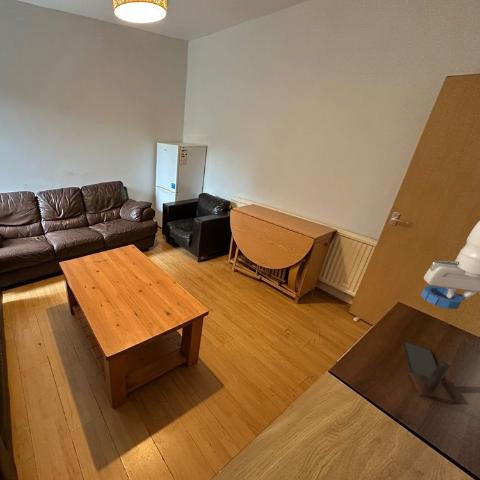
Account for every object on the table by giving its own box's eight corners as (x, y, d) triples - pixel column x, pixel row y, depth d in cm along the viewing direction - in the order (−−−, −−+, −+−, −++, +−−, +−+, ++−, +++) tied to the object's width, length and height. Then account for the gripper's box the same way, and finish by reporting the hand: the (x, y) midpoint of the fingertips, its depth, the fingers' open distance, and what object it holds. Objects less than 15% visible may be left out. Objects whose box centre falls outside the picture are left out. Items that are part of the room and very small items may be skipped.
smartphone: (431, 350, 86) (444, 384, 75) (430, 352, 86) (443, 386, 75) (403, 340, 90) (411, 372, 78) (402, 342, 90) (410, 374, 79)
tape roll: (447, 294, 92) (451, 287, 91) (465, 311, 84) (470, 304, 83) (415, 290, 95) (419, 283, 94) (430, 306, 87) (433, 299, 86)
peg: (436, 382, 76) (453, 357, 72) (451, 404, 70) (471, 379, 66) (407, 375, 78) (422, 351, 74) (419, 396, 72) (436, 371, 68)
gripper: (440, 263, 82) (422, 298, 88) (528, 274, 76) (503, 310, 82) (429, 254, 88) (413, 287, 93) (510, 263, 81) (488, 298, 87)
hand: (455, 298), depth 87 cm, fingers closed on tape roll
